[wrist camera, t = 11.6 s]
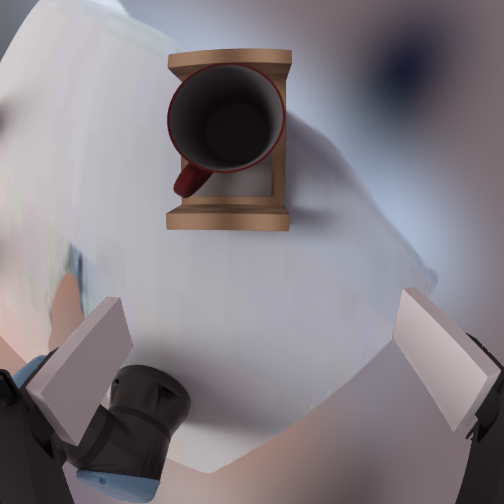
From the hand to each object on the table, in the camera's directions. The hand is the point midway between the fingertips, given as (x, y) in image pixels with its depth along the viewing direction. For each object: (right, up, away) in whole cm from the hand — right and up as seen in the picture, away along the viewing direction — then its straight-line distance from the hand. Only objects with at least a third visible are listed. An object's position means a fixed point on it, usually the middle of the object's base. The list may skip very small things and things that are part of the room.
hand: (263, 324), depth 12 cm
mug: (-3, +15, +18) cm, 24 cm away
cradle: (-3, +16, +19) cm, 25 cm away
